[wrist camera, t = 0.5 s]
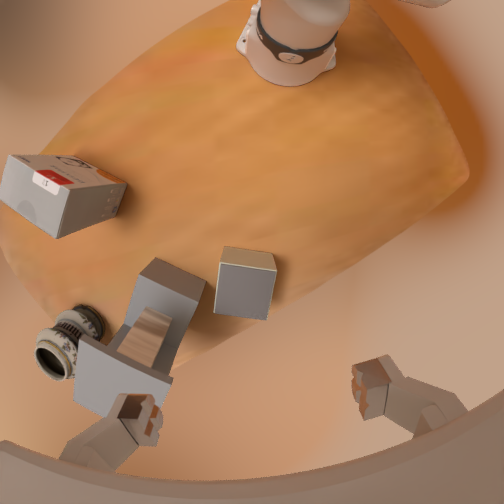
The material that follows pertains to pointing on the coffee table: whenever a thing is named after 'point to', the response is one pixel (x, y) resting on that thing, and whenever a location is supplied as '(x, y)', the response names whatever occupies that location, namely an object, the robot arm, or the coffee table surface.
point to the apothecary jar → (66, 341)
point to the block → (146, 337)
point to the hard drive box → (59, 192)
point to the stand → (245, 283)
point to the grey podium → (106, 357)
